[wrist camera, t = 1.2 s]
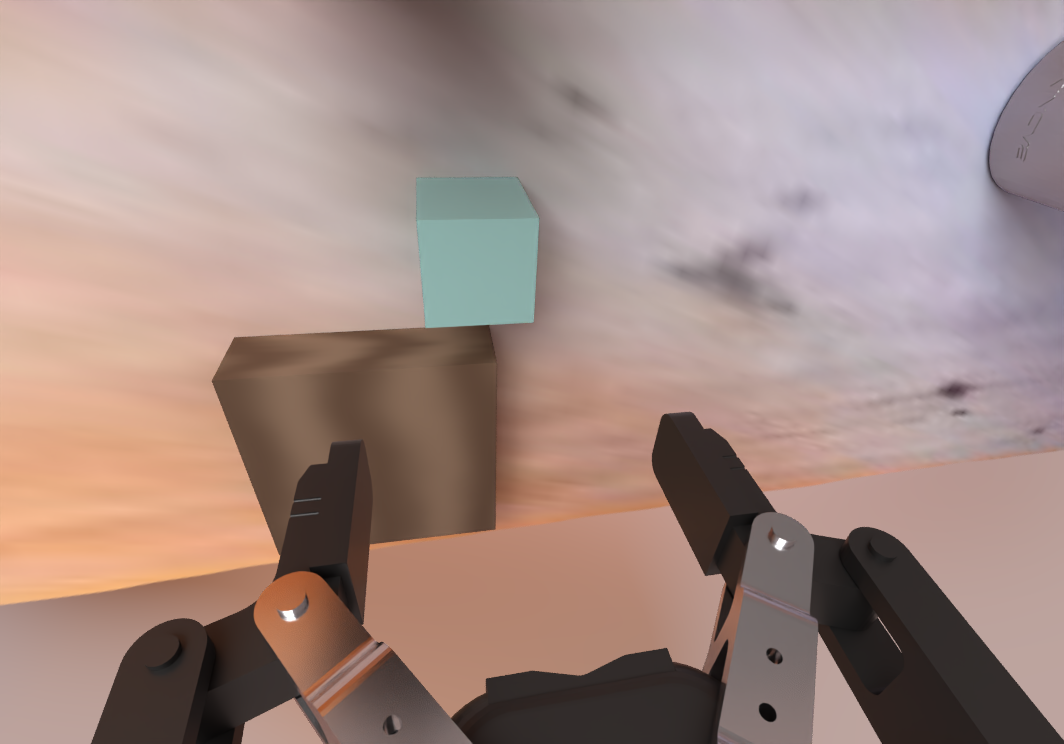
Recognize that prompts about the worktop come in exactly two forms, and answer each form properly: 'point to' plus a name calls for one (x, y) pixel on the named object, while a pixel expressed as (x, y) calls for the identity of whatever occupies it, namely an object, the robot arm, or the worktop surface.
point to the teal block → (476, 251)
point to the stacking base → (371, 421)
